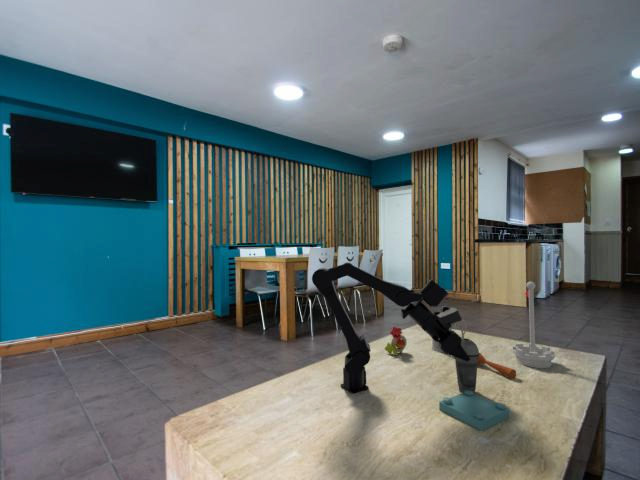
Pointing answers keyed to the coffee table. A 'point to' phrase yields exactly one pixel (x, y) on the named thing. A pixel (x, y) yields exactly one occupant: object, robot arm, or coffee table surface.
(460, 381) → the beverage cup
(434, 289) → the robot arm
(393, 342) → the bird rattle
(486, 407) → the base brick
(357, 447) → the coffee table surface
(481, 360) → the kendama
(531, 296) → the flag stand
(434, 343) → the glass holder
